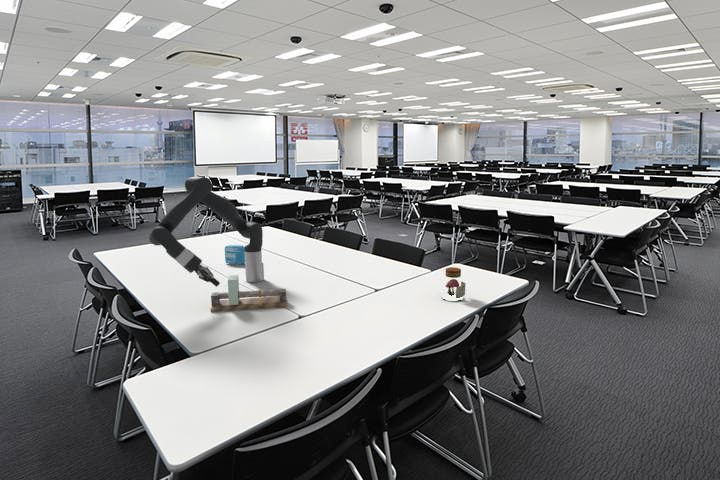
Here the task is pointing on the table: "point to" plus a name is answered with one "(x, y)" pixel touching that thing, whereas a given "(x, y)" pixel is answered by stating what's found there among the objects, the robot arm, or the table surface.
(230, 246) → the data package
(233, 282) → the pale green rectangular block
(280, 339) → the table surface
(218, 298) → the pipe stand
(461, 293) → the jar with lid
